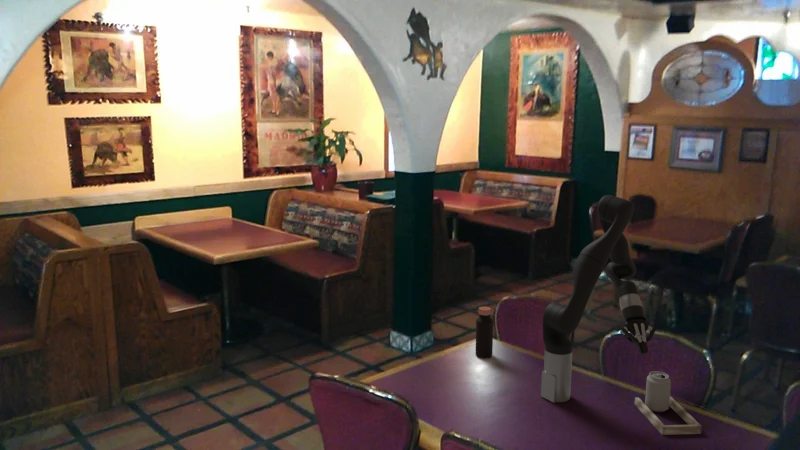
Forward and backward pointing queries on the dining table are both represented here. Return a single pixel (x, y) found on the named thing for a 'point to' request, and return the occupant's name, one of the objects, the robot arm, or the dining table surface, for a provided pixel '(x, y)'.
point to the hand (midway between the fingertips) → (644, 353)
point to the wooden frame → (691, 428)
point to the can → (657, 391)
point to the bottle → (484, 333)
